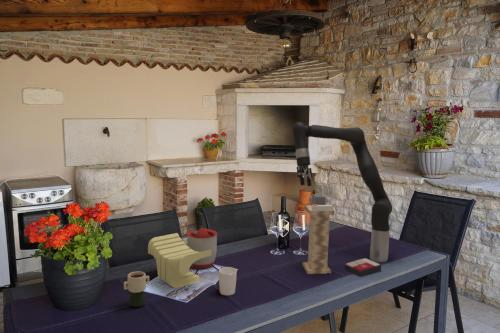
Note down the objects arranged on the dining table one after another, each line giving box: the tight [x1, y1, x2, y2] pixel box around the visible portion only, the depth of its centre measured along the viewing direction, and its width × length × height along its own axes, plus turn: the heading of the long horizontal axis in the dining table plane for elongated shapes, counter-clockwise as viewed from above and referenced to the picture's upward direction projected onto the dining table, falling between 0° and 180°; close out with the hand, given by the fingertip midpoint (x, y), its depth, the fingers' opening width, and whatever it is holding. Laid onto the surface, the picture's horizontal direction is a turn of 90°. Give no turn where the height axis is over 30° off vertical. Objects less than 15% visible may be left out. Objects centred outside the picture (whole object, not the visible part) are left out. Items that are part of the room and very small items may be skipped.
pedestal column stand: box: [301, 204, 335, 275], centre depth 207 cm, size 12×12×32 cm
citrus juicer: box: [186, 226, 218, 269], centre depth 210 cm, size 16×17×20 cm
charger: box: [308, 193, 327, 205], centre depth 210 cm, size 5×16×6 cm, turn 7°
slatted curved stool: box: [147, 232, 211, 289], centre depth 190 cm, size 30×16×18 cm, turn 40°
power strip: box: [311, 204, 334, 211], centre depth 199 cm, size 10×2×3 cm, turn 97°
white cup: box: [218, 266, 238, 296], centre depth 179 cm, size 8×8×10 cm
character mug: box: [123, 270, 150, 308], centre depth 165 cm, size 11×7×13 cm, turn 130°
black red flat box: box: [344, 257, 382, 277], centre depth 209 cm, size 11×4×15 cm
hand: (306, 185), depth 227 cm, fingers open, 8 cm apart
